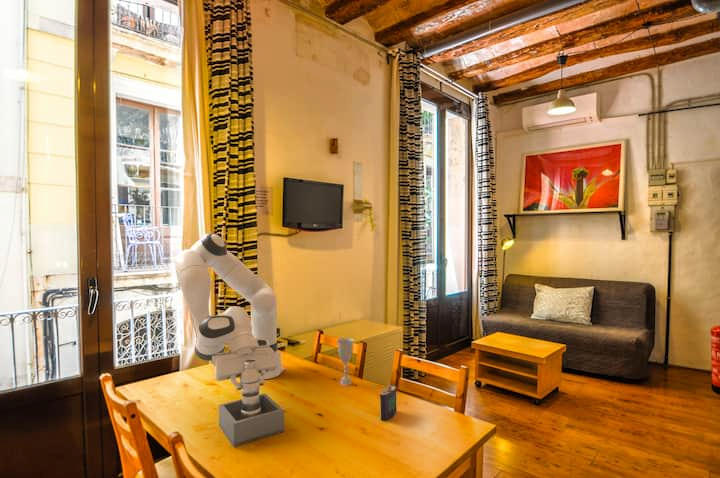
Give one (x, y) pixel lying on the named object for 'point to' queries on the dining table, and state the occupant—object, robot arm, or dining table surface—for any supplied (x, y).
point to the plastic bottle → (250, 390)
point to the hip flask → (388, 403)
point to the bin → (250, 421)
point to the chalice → (345, 356)
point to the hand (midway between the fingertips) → (250, 387)
